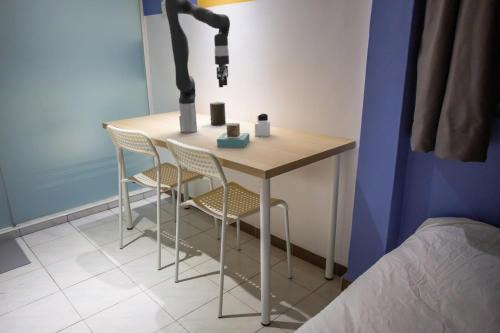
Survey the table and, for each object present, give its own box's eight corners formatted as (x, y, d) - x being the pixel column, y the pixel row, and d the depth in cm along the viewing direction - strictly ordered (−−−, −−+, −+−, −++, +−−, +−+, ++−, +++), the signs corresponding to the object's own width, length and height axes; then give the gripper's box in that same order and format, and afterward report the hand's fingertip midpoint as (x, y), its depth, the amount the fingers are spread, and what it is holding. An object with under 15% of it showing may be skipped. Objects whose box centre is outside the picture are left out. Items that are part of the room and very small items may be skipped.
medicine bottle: (270, 133, 214) (269, 113, 210) (267, 136, 207) (266, 115, 204) (258, 133, 216) (257, 112, 212) (254, 136, 209) (254, 115, 206)
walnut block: (227, 136, 192) (226, 125, 190) (229, 134, 197) (229, 123, 195) (237, 137, 191) (237, 125, 189) (239, 134, 196) (239, 123, 194)
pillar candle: (223, 125, 239) (222, 102, 234) (208, 125, 241) (207, 102, 236) (227, 122, 248) (226, 100, 243) (213, 122, 250) (212, 100, 245)
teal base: (217, 146, 190) (216, 138, 189) (224, 139, 203) (224, 132, 202) (244, 147, 188) (243, 139, 186) (249, 140, 201) (249, 132, 199)
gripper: (218, 54, 203) (220, 84, 208) (210, 55, 190) (212, 87, 195) (231, 54, 202) (233, 84, 207) (225, 55, 189) (226, 87, 194)
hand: (223, 86), depth 201 cm, fingers open, 8 cm apart
